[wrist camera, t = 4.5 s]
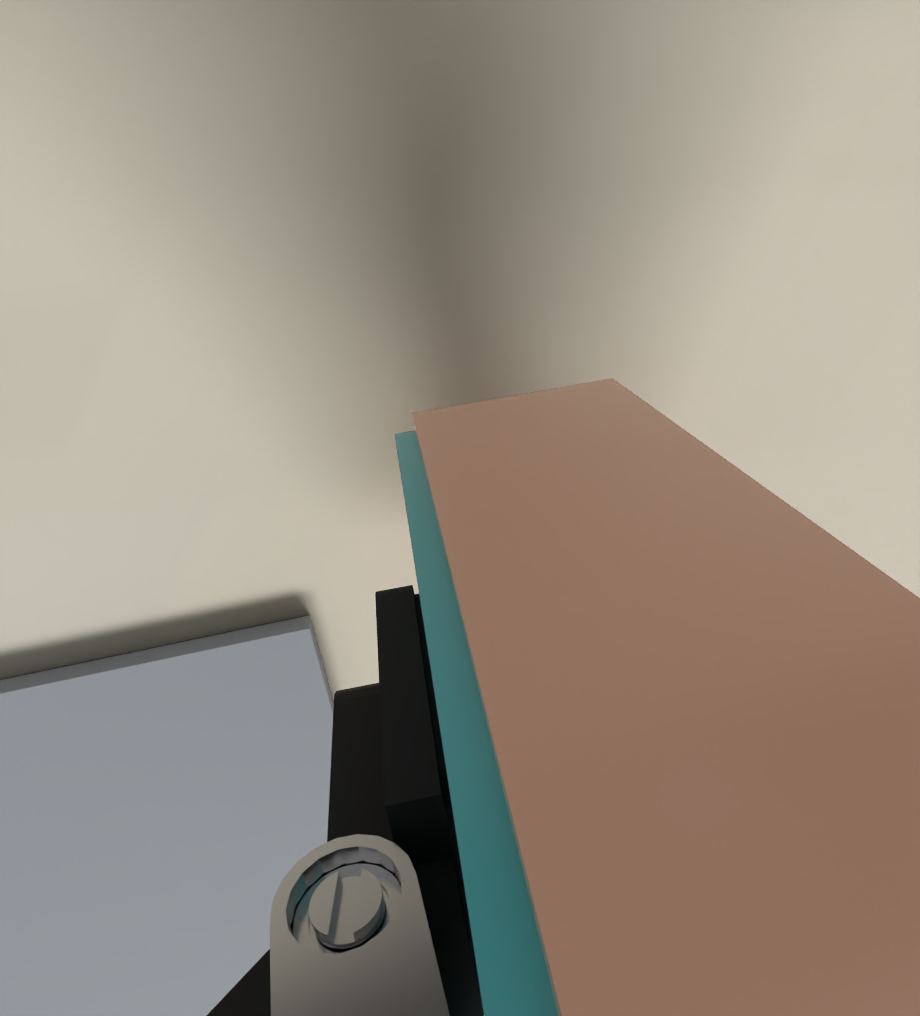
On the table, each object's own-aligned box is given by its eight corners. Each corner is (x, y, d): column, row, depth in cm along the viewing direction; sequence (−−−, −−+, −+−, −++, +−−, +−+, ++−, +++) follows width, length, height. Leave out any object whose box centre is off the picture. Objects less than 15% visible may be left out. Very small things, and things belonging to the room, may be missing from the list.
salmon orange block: (612, 378, 10) (1507, 1018, 2) (631, 741, 13) (1057, 1592, 5) (391, 416, 10) (520, 1269, 2) (458, 776, 13) (624, 1721, 5)
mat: (309, 615, 15) (309, 628, 15) (426, 1043, 22) (428, 1061, 22) (-527, 790, 14) (-556, 811, 13) (-120, 1191, 20) (-130, 1214, 20)
